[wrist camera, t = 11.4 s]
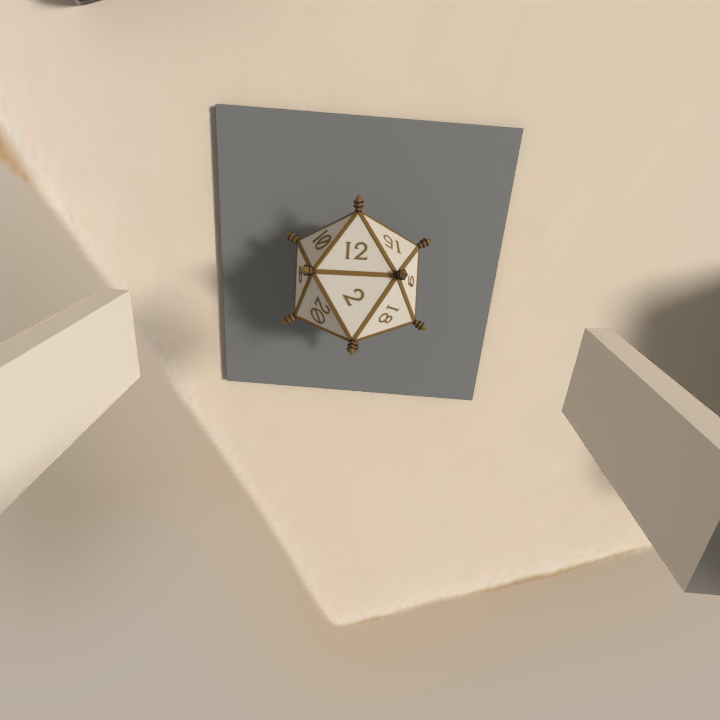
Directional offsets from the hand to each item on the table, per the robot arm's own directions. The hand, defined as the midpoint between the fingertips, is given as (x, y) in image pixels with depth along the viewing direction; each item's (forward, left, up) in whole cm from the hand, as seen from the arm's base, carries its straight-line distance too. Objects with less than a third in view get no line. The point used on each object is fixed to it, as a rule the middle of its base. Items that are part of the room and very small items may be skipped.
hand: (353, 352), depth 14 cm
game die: (+2, 0, -19) cm, 19 cm away
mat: (+2, 0, -19) cm, 19 cm away
